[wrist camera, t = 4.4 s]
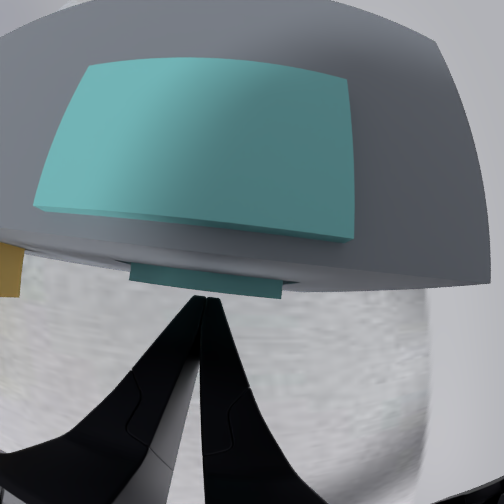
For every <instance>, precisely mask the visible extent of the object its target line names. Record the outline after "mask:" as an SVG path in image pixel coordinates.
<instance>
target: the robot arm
mask: <svg viewBox="0 0 504 504" xmlns="http://www.w3.org/2000/svg"><path fill="white" fill-rule="evenodd" d="M199 365H200V413H201V439H202V456H203V476H204V494H205V504H328V503H327V502H326V501H325V500H324V499H322V498H321V497H320V496H319V495H318V494H317V493H316V492H315V491H314V490H313V489H311V488H310V487H309V486H308V485H307V484H306V483H305V482H304V481H303V480H302V479H301V478H300V477H299V476H298V474H297V473H296V472H295V471H294V469H293V468H292V467H291V465H290V464H289V462H288V461H287V459H286V457H285V456H284V454H283V452H282V451H281V449H280V447H279V446H278V444H277V442H276V441H275V439H274V437H273V435H272V434H271V432H270V430H269V428H268V426H267V425H266V423H265V421H264V419H263V417H262V415H261V413H260V410H259V408H258V406H257V403H256V401H255V398H254V396H253V393H252V390H251V388H250V385H249V382H248V380H247V377H246V374H245V371H244V368H243V366H242V363H241V360H240V357H239V354H238V351H237V348H236V346H235V343H234V340H233V337H232V334H231V331H230V328H229V325H228V322H227V319H226V316H225V313H224V310H223V306H222V303H221V300H220V299H219V298H213V297H207V299H206V297H205V296H197V295H194V296H193V297H192V298H191V299H190V300H189V301H188V302H187V303H186V305H185V306H184V307H183V308H182V309H181V311H180V312H179V313H178V314H177V315H176V316H175V318H174V319H173V320H172V321H171V322H170V324H169V325H168V326H167V327H166V328H165V329H164V331H163V332H162V333H161V334H160V335H159V337H158V338H157V339H156V340H155V341H154V343H153V344H152V345H151V346H150V347H149V349H148V350H147V351H146V352H145V353H144V355H143V356H142V357H141V358H140V359H139V361H138V362H137V363H136V364H135V365H134V367H133V368H132V370H130V371H129V372H128V374H127V375H126V376H125V377H124V379H123V380H122V381H121V382H120V383H119V384H118V385H117V387H116V388H115V389H114V390H113V391H112V392H111V393H110V394H109V395H108V396H107V397H106V398H105V399H104V400H103V401H102V402H101V403H100V404H99V405H98V406H97V407H96V408H94V409H93V410H92V411H91V412H90V413H89V414H88V415H87V416H86V417H85V418H84V419H83V420H82V421H81V422H79V423H78V424H77V425H76V426H75V427H74V428H73V429H71V430H70V431H69V432H67V433H66V434H64V435H62V436H60V437H58V438H55V439H52V440H49V441H47V442H44V443H41V444H38V445H35V446H32V447H29V448H26V449H22V450H19V451H16V452H12V453H6V452H4V451H2V450H0V504H166V502H167V497H168V493H169V488H170V484H171V480H172V475H173V470H174V466H175V462H176V458H177V454H178V449H179V445H180V441H181V437H182V433H183V429H184V424H185V420H186V416H187V412H188V408H189V404H190V400H191V396H192V392H193V388H194V384H195V381H196V377H197V373H198V369H199ZM432 504H504V476H502V477H500V478H498V479H495V480H493V481H491V482H488V483H486V484H484V485H481V486H479V487H476V488H473V489H471V490H468V491H465V492H463V493H460V494H457V495H454V496H450V497H448V498H445V499H443V500H440V501H437V502H435V503H432Z"/></svg>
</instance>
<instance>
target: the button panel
mask: <svg viewBox="0 0 504 504" xmlns="http://www.w3.org/2000/svg"><path fill="white" fill-rule="evenodd" d="M0 242H1V243H5V244H9V245H12V246H16V247H20V248H24V249H25V251H24V254H29V255H34V256H39V257H45V258H50V259H56V260H61V261H67V262H73V263H79V264H85V265H91V266H97V267H103V268H109V269H116V270H122V271H129V272H130V270H131V262H133V263H140V264H148V265H155V266H163V267H171V268H178V269H186V270H194V271H203V272H211V273H219V274H228V275H237V276H246V277H255V278H264V279H274V280H283V285H282V290H285V291H296V292H343V291H377V290H401V289H421V288H437V287H452V286H465V285H477V284H489V283H490V279H491V268H490V267H491V262H490V238H489V225H488V215H487V207H486V199H485V192H484V186H483V181H482V175H481V170H480V165H479V161H478V156H477V152H476V148H475V144H474V140H473V137H472V133H471V130H470V126H469V123H468V120H467V117H466V113H465V110H464V108H463V104H462V102H461V99H460V96H459V94H458V91H457V88H456V86H455V83H454V81H453V78H452V76H451V74H450V71H449V69H448V67H447V65H446V62H445V60H444V58H443V56H442V54H441V52H440V50H439V48H438V46H437V44H436V42H435V41H433V40H431V39H429V38H427V37H426V36H424V35H421V34H420V33H418V32H416V31H413V30H411V29H409V28H407V27H405V26H402V25H400V24H398V23H396V22H393V21H391V20H388V19H386V18H383V17H381V16H378V15H375V14H373V13H370V12H367V11H364V10H361V9H358V8H355V7H352V6H349V5H345V4H342V3H339V2H335V1H331V0H92V1H89V2H85V3H82V4H78V5H75V6H72V7H69V8H66V9H63V10H60V11H58V12H55V13H52V14H50V15H47V16H45V17H42V18H40V19H37V20H35V21H33V22H30V23H28V24H26V25H24V26H22V27H20V28H18V29H16V30H14V31H12V32H10V33H8V34H6V35H4V36H2V37H0Z"/></svg>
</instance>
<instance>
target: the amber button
mask: <svg viewBox="0 0 504 504" xmlns="http://www.w3.org/2000/svg"><path fill="white" fill-rule="evenodd" d="M24 251H25V249H24V248H20V247H16V246H12V245H9V244H5V243H1V242H0V297H19V296H20V283H21V273H22V265H23V257H24Z"/></svg>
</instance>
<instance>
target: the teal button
mask: <svg viewBox="0 0 504 504" xmlns="http://www.w3.org/2000/svg"><path fill="white" fill-rule="evenodd" d="M129 280H131V281H137V282H144V283H151V284H157V285H164V286H172V287H179V288H186V289H194V290H202V291H210V292H219V293H227V294H236V295H245V296H255V297H265V298H275V299H281V295H282V285H283V280H274V279H264V278H255V277H246V276H237V275H228V274H219V273H211V272H203V271H194V270H186V269H178V268H171V267H163V266H155V265H148V264H140V263H133V262H131V270H130V277H129Z"/></svg>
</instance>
